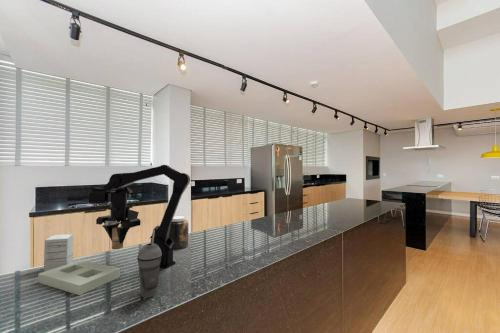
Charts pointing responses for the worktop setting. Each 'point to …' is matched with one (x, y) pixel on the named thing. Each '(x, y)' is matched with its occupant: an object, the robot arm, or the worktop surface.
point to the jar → (179, 232)
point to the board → (79, 276)
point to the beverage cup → (149, 268)
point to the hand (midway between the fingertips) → (117, 242)
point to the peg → (116, 240)
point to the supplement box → (58, 251)
